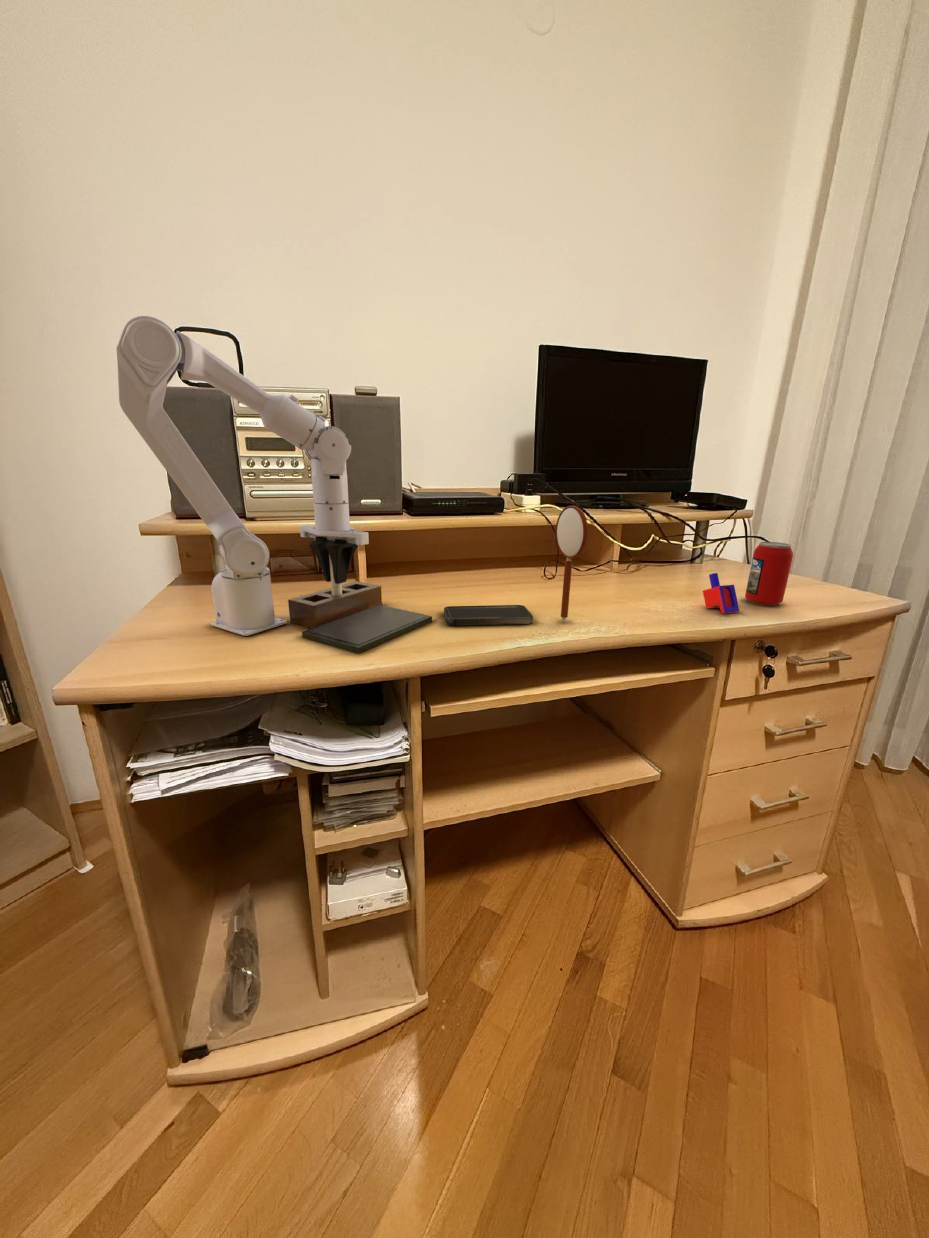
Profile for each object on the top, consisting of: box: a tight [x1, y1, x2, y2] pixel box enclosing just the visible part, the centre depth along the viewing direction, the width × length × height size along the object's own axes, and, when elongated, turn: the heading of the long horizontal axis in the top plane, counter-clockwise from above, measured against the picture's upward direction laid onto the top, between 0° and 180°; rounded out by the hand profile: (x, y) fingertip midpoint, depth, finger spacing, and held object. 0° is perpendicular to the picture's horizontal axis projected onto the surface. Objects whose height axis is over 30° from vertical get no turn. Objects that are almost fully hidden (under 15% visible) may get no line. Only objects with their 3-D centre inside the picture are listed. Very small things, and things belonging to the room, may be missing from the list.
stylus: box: [329, 555, 343, 596], centre depth 86 cm, size 2×2×11 cm
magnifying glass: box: [555, 505, 589, 623], centre depth 83 cm, size 9×2×20 cm, turn 21°
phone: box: [443, 604, 534, 626], centre depth 87 cm, size 8×1×15 cm
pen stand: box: [287, 580, 383, 629], centre depth 88 cm, size 6×16×4 cm, turn 148°
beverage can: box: [744, 541, 794, 607], centre depth 98 cm, size 7×7×12 cm
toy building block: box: [702, 572, 740, 615], centre depth 94 cm, size 4×4×8 cm
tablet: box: [301, 604, 433, 655], centre depth 80 cm, size 12×18×1 cm, turn 148°
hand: (336, 581), depth 86 cm, fingers closed on stylus, 2 cm apart
